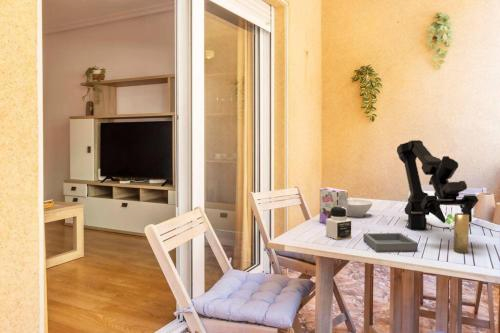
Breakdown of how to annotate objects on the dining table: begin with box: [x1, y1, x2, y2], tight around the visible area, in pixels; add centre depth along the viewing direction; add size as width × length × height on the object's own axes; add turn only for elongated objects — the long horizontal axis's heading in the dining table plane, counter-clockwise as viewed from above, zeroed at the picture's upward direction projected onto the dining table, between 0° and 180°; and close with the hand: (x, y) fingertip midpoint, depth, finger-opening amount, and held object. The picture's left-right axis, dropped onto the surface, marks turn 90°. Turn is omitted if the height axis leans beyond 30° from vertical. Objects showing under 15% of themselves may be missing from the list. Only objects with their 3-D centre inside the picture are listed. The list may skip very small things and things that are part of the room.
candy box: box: [319, 186, 349, 225], centre depth 177 cm, size 14×6×16 cm, turn 24°
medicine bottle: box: [325, 207, 352, 241], centre depth 155 cm, size 7×7×12 cm
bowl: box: [347, 198, 373, 218], centre depth 197 cm, size 16×16×7 cm
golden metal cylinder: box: [453, 212, 470, 254], centre depth 134 cm, size 4×4×13 cm
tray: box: [363, 232, 419, 253], centre depth 142 cm, size 14×14×3 cm
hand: (457, 222), depth 136 cm, fingers open, 9 cm apart
